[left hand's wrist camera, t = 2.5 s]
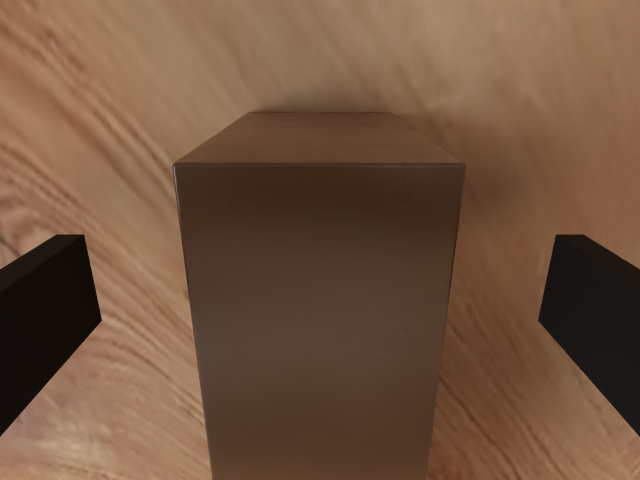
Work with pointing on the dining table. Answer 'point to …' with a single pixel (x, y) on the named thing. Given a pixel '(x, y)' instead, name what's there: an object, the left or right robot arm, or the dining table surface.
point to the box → (319, 292)
